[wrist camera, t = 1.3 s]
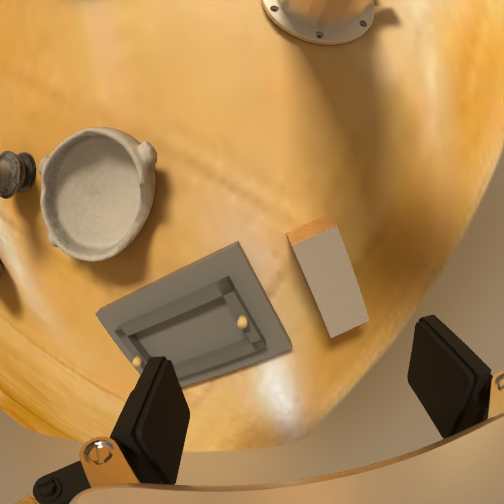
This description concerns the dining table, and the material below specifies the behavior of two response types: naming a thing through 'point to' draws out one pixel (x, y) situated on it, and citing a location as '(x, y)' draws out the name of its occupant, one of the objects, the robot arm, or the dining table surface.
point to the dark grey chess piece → (16, 173)
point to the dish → (97, 192)
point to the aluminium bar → (329, 274)
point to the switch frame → (199, 319)
